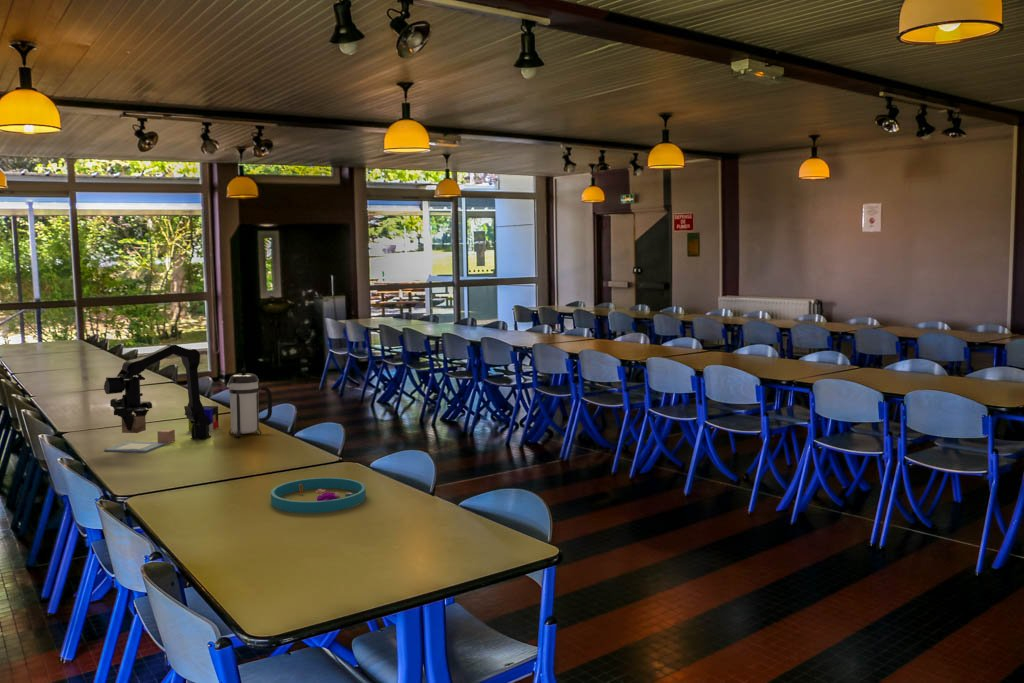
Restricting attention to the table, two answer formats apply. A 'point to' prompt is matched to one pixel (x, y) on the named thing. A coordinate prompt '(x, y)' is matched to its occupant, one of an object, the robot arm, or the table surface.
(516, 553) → the table surface
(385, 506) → the table surface
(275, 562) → the table surface
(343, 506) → the teal ring
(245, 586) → the table surface
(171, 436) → the terracotta block
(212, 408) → the puzzle toy
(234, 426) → the coffee press
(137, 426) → the walnut block
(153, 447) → the mat
